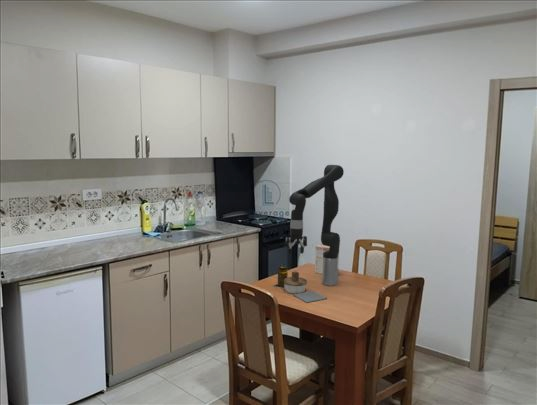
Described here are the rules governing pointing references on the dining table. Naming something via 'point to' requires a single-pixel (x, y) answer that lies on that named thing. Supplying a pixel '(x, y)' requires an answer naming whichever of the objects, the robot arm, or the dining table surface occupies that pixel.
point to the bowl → (294, 289)
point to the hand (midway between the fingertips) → (295, 253)
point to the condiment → (281, 276)
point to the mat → (309, 296)
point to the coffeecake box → (321, 258)
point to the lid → (295, 280)
